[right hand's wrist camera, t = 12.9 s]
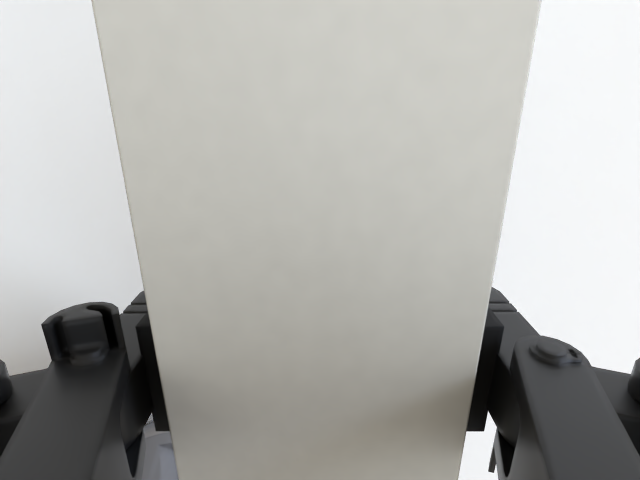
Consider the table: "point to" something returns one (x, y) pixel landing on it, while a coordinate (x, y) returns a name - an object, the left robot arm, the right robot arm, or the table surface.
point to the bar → (317, 221)
